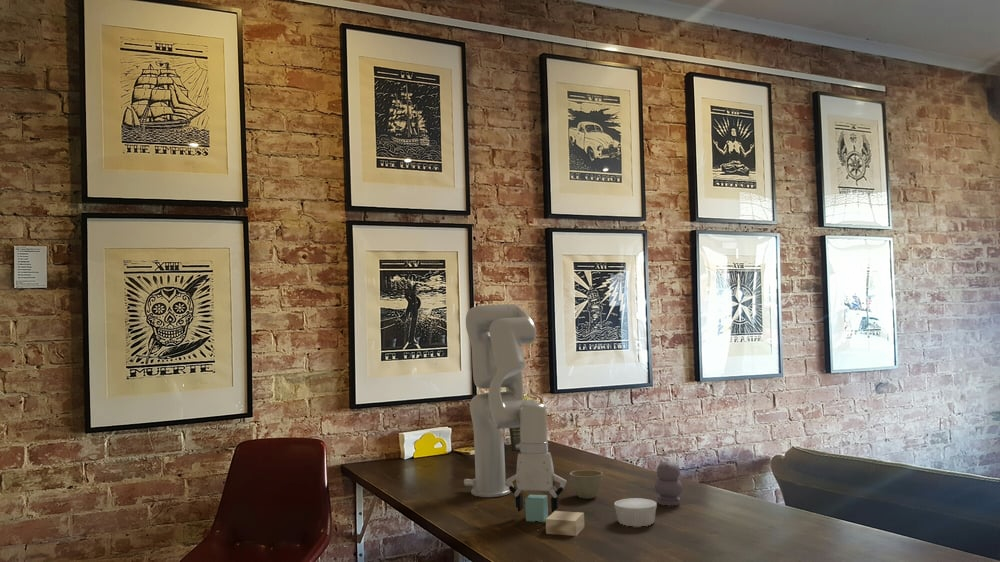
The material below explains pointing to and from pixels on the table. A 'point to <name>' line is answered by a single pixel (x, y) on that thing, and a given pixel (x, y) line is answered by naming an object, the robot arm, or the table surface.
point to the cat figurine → (668, 483)
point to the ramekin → (635, 511)
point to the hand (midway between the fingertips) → (537, 510)
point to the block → (536, 508)
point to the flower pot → (586, 482)
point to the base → (565, 523)
